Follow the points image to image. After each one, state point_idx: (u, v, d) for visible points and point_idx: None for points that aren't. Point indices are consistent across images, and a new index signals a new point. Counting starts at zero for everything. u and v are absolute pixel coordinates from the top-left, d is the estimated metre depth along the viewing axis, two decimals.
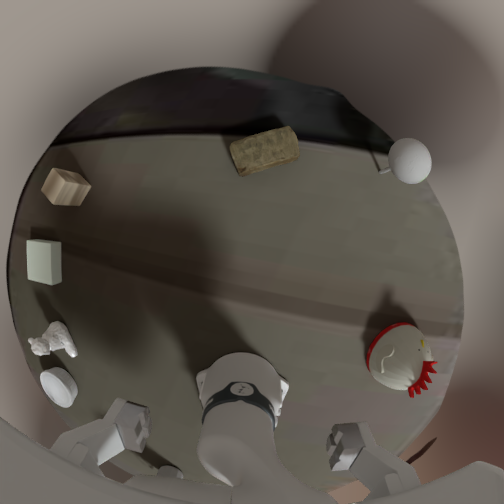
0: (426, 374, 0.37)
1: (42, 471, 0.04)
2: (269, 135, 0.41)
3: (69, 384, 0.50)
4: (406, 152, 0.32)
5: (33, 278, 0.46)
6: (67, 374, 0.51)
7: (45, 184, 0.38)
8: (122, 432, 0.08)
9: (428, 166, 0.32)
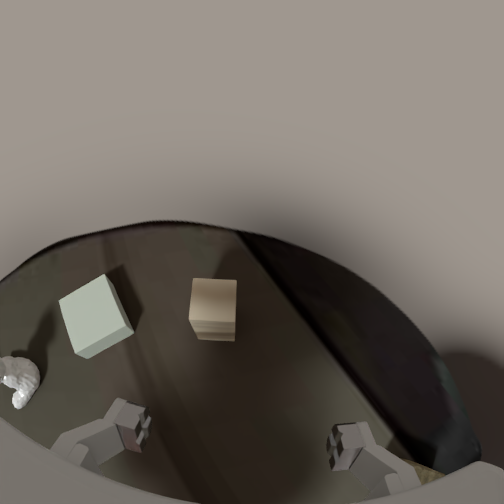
0: None
1: (42, 471, 0.04)
2: (430, 474, 0.21)
3: None
4: None
5: (64, 311, 0.32)
6: None
7: (205, 282, 0.31)
8: (122, 432, 0.08)
9: None
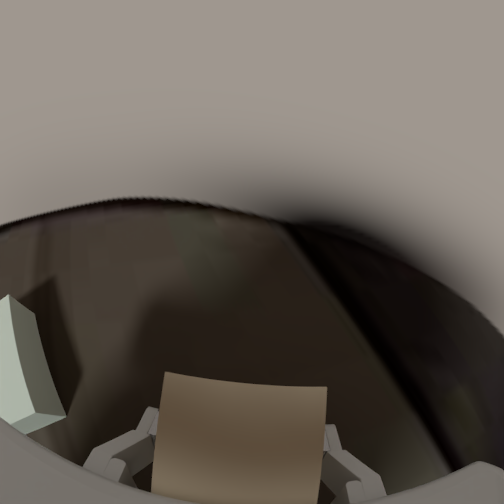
0: None
1: (42, 471, 0.04)
2: None
3: None
4: None
5: None
6: None
7: (211, 394, 0.07)
8: None
9: None
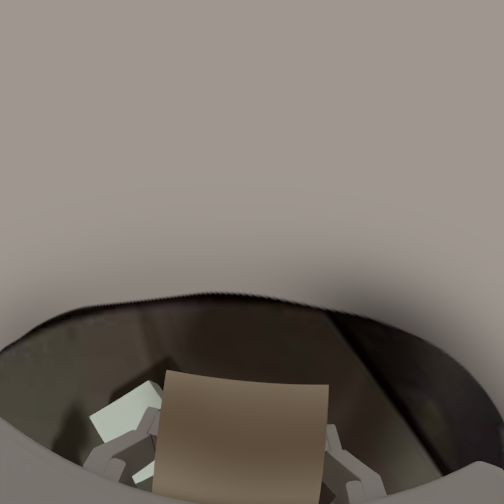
0: None
1: (42, 471, 0.04)
2: None
3: None
4: None
5: (102, 432, 0.21)
6: None
7: (212, 392, 0.07)
8: None
9: None
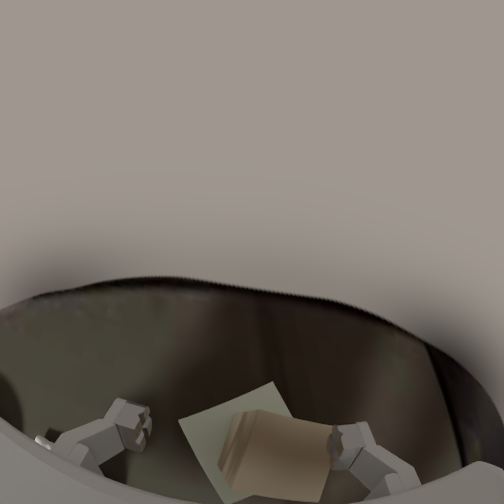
0: None
1: (42, 471, 0.04)
2: None
3: None
4: None
5: (194, 441, 0.18)
6: None
7: (283, 424, 0.12)
8: (122, 432, 0.08)
9: None
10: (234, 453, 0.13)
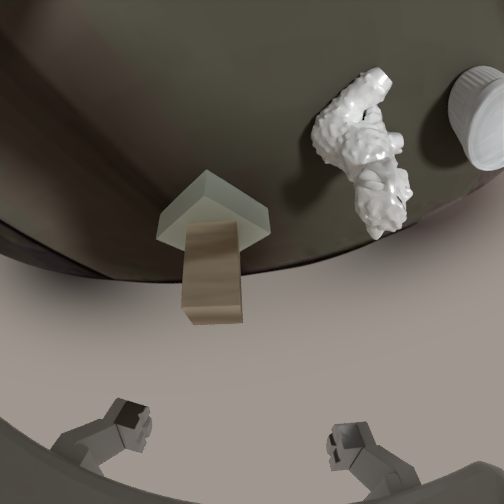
0: None
1: (42, 471, 0.04)
2: None
3: (477, 84, 0.13)
4: None
5: (252, 227, 0.28)
6: (454, 92, 0.16)
7: (227, 322, 0.26)
8: (122, 432, 0.08)
9: None
10: None
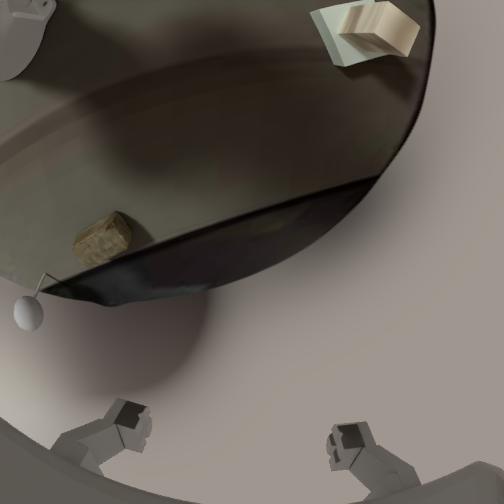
0: None
1: (42, 471, 0.04)
2: (99, 259, 0.42)
3: None
4: (30, 323, 0.37)
5: (362, 3, 0.21)
6: None
7: (413, 33, 0.18)
8: (122, 432, 0.08)
9: (17, 323, 0.36)
10: None
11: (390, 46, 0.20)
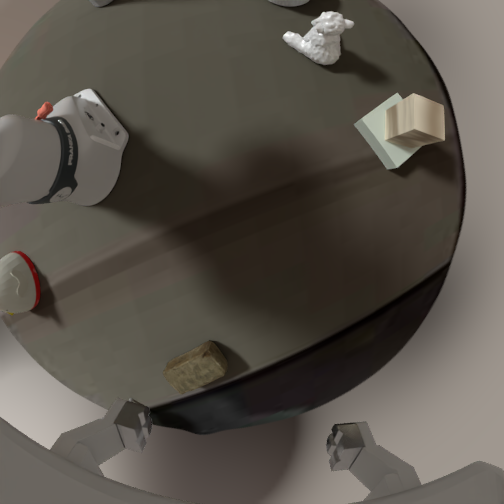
0: None
1: (42, 471, 0.04)
2: (193, 386, 0.42)
3: None
4: None
5: (391, 101, 0.33)
6: (284, 4, 0.32)
7: (441, 114, 0.25)
8: (122, 432, 0.08)
9: None
10: None
11: (429, 136, 0.26)
